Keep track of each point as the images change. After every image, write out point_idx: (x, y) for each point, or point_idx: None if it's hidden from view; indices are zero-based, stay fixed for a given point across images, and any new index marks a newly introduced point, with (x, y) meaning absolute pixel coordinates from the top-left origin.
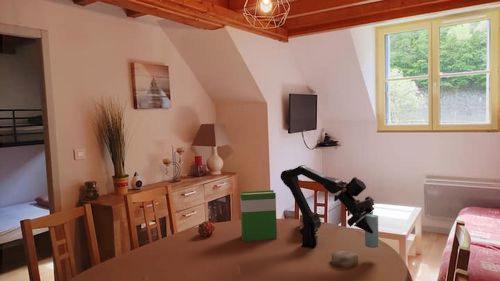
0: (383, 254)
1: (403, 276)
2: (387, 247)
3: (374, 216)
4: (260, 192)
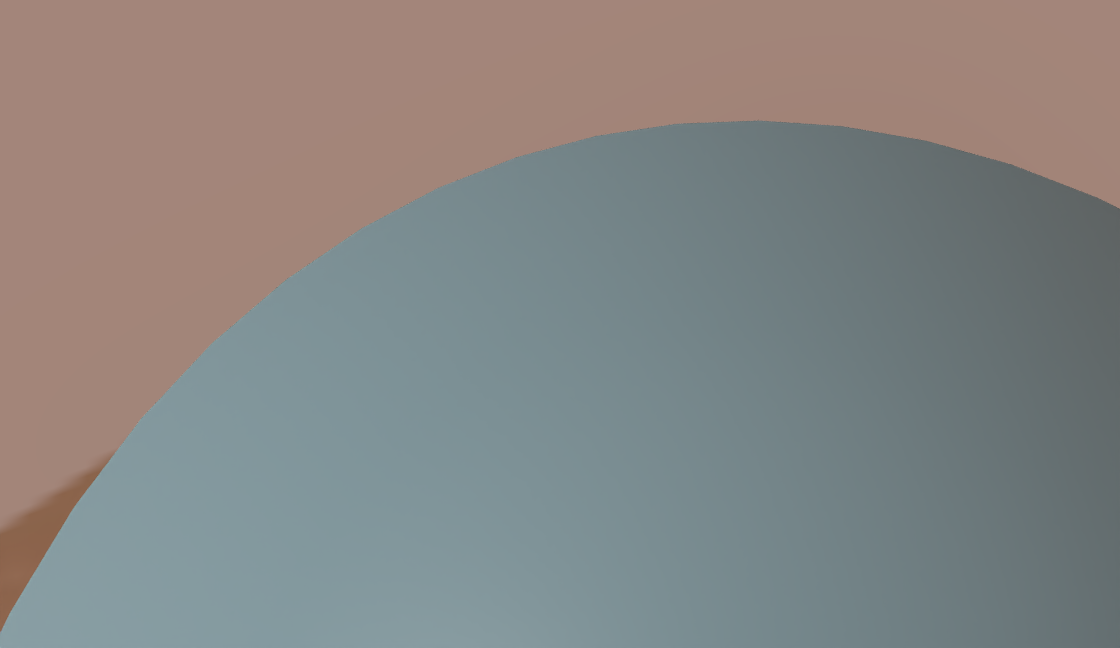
0: None
1: None
2: (23, 525)
3: (782, 446)
4: None
